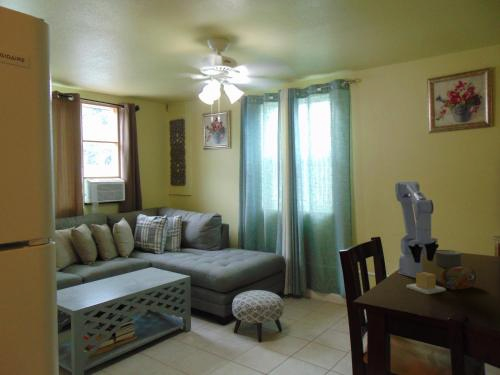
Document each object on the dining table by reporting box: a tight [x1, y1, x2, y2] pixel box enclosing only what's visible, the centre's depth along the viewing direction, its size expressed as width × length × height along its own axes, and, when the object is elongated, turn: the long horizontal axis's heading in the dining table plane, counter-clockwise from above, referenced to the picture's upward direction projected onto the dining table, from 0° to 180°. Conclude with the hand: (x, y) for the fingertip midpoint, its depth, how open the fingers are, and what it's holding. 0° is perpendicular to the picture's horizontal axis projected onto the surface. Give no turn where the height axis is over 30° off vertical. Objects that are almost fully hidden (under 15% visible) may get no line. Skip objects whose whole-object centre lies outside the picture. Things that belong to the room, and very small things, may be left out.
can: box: [434, 249, 462, 269], centre depth 183 cm, size 12×12×7 cm
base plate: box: [406, 282, 447, 295], centre depth 145 cm, size 10×10×5 cm
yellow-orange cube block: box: [415, 271, 437, 289], centre depth 145 cm, size 5×5×5 cm
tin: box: [441, 265, 477, 291], centre depth 146 cm, size 15×3×8 cm, turn 105°
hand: (423, 261), depth 151 cm, fingers open, 7 cm apart
